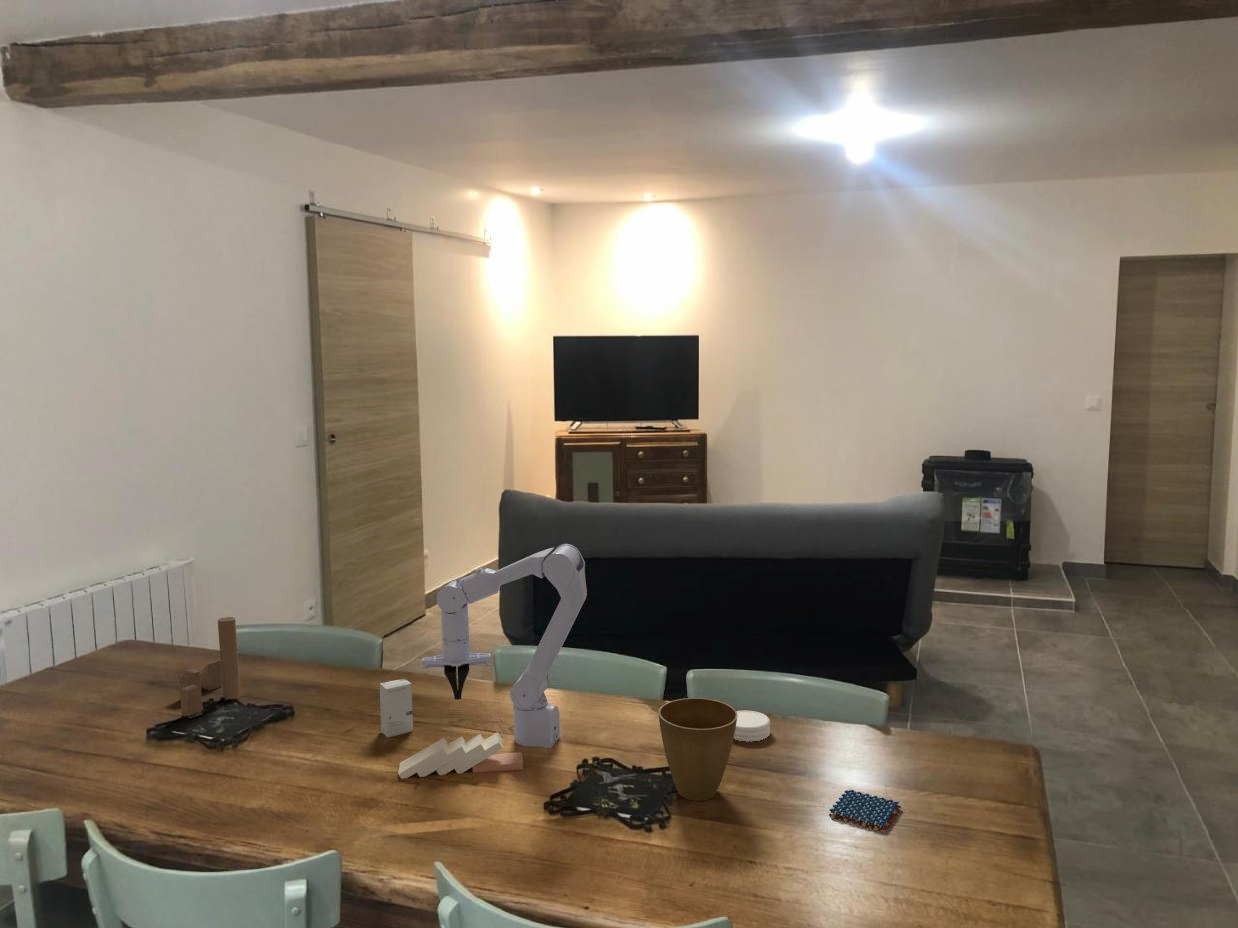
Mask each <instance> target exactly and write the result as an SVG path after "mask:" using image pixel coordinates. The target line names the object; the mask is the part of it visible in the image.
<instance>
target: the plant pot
mask: <svg viewBox="0 0 1238 928" xmlns="http://www.w3.org/2000/svg"><path fill="white" fill-rule="evenodd" d="M736 711H737V710H736V709H735V708H734V707H733V706H731V705H730V704H727V703H726V702H722V701H720V700H716V699H711V698H703V697H690V698H689V697H688V698H687V697H686V698H680V699H675V700H671V701H668V702H666V703H664V704H663V705H661V706H660V707H659V709H658V713H657V714H658V720H659V721H658V722H659V727H660V734H661V739H662V745H663V750H664V753H665V757H666V758H665V759H666V762H667V765H668V768H669V772H670V775H671V778H672V781H673V784H674V786H675V788H676V792H677V793H678V795H679V796H680V797H681V798H684V799H685V800H689V801H695V802H702V801H703V802H704V801H708V800H710V799H713V798H714V797H715V796H716V795H717V792H718V791H719V790H718V789H719V788H720V784H721V782H722V780H723V777H724V773H725V771H726V768H727V765H728V763H729V758H730V754H731V751H732V748H733V743H734V740H733V739H734V733H735V728H736V722H737V712H736Z"/></svg>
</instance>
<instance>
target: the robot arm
mask: <svg viewBox="0 0 1238 928" xmlns="http://www.w3.org/2000/svg"><path fill="white" fill-rule="evenodd" d="M554 548H555V547H550V548H547V549H544V550H540V551H538V552H535V553H533V554H530V555H529V556H526V557H524V558H522V559H520V560H518V561H515V562H513V563H511V564H509V565H506V566H504V567H502V568H500V569H497V570H495V569H491V568H489V567H486V568H484V569H483V567H480V568H477V569H476V570H474V572H475V573H472V574H470V575H467V576H464V577H462V576H459V577H457V578H456V579H455V580H452V581H450V582H449V583H448V584H446V585H445V586H444V587H442V588H441V589H440V590H439V591H438V593H437V594H436V604H437V606H438V608H439V609H441V610H440V612H441V640H442V641H441V642H442V654H439V655H433V656H428V657H422V659H421V665H422V666H421V668H422V670H427V669H430V668H431V669H432V668H442V667H443V673H444V675H445V677H446V679H447V680H448V681H449V684H450V687H451V689H452V692H453V696H454V701H455V700H456V701H457V700H462V694H463V689H464V685H465V682H466V679H467V676H468V675H469V672H470V666H475V665H486V666H491V665H492V661H491V653H479V652H477V653H476V652H470V626H469V607H468V606H469V605H470V604H472V605H473V604H474V603H476V602H479V601H481V600H483V599H486V598H488V597H491V596H494V595H495V594H498V593H499V591H500V588H501V586H503V585H505V584H508V583H511V582H514V581H516V580H519V579H522V578H525V577H528V576H530V575H533V576H536V577H538V578H540V579H543V578H544V577H546V579H547V580H548V581H549V582H550V583H551V585H552V586H553V587H555V589H556V590H557V592H558V594H559V596H560V600H559V602H558V603H557V607H556V608H555V611H554V613H553V615H552V617H551V619H550V621H549V623H548V625H547V626H546V629H545V631H544V633H543V635H542V637H541V640H540V641H539V644H538V645H537V648H536V649H535V651H534V654H533V655H532V657H531V660H530V662H529V664H528V665H527V667H526V668H525V669H524V670H523V672H522V673H521V674H520V676H519V678H518V679H517V680H516V682H515V683H514V684H513V685H512V686H511V688H510V692H509V698H510V701H511V702H512V704H513V705H512V706H513V730H514V731H513V733H514V735H513V736H514V738H513V739H514V742H515V743H516V745H520V746H523V747H530V748H531V747H533V748H534V747H535V748H536V747H537V748H546V749H552V747H554V745H555V744H556V742H558V740H559V739H560V738H561V729H560V728H561V725H560V710H559V707H558V705H554V704H551V703H550V702H549V701H548V699H547V695H546V694H545V691H546V690H547V689H548V687H549V683H550V680H549V679H550V678H549V677H550V673H551V671H552V667H553V665H554V663H555V661H556V659H557V657H558V656H559V653H560V651H561V649H562V647H563V645H564V643H565V641H566V639H567V637H568V635H569V633H570V631H571V629H572V627H573V625H574V622H575V621H576V619H577V616H578V615H579V613H580V611H581V608H582V607H583V605H584V603H585V601H586V599H587V596H588V589H587V583H586V572H585V570H586V562H585V560H584V558H583V556H582V553H581V552H580V550H579V549H578V547H576V546H574V545H572V544H569V543H563V544H560V545H558V546H557V547H556V548H555V549H554Z"/></svg>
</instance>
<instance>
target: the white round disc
mask: <svg viewBox="0 0 1238 928" xmlns="http://www.w3.org/2000/svg"><path fill="white" fill-rule="evenodd" d="M736 712H737V722H736V728H735V733H734V739H735V740H734V741H736V740H739V741H738V742H741V741H746V742H745V743H753V742H752V741H758V742H760V740H762V741H764V740H766V739H768V738H769V737H768V736H770V734H771V720H770V718H769V717H768V716H767V715H766V714H765V713H763V712H758V711H755V710H736ZM767 737H768V738H767ZM765 738H766V739H765ZM763 739H764V740H763ZM749 741H750V742H749Z"/></svg>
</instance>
